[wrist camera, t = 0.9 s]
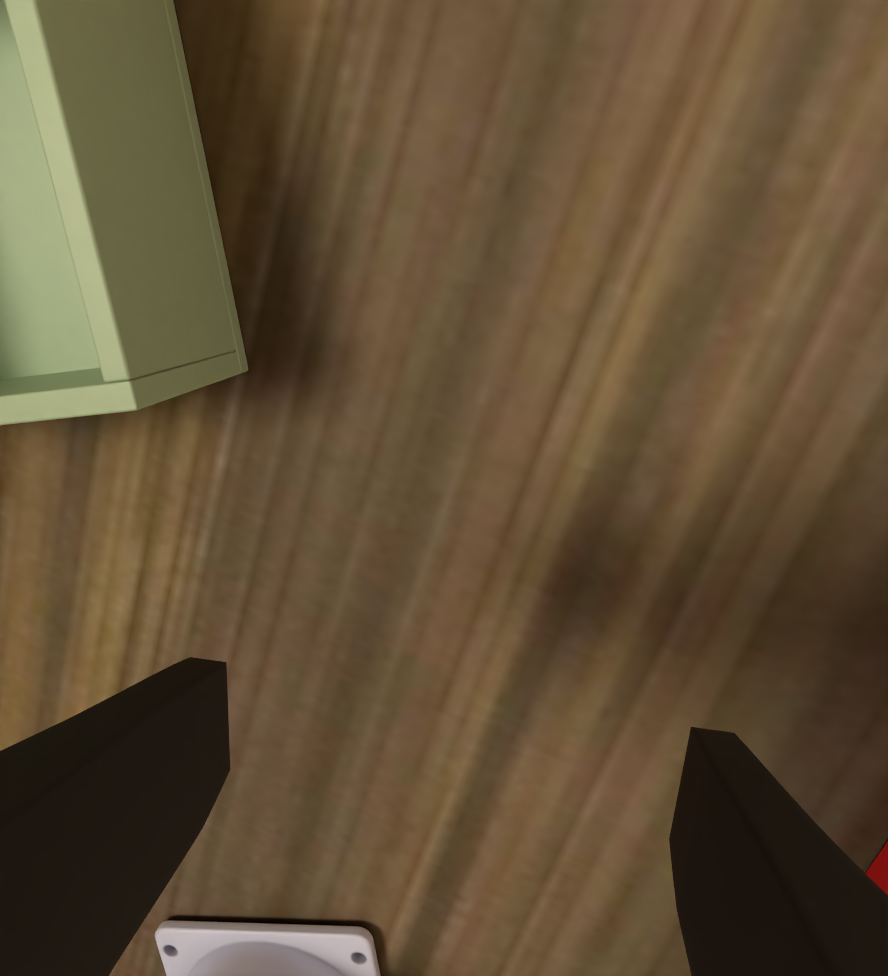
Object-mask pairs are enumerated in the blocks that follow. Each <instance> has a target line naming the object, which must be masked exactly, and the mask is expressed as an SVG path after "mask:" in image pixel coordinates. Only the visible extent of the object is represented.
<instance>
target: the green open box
mask: <svg viewBox="0 0 888 976" xmlns="http://www.w3.org/2000/svg"><path fill="white" fill-rule="evenodd" d="M247 371H248V365H247V360H246V355H245V350H244V345H243V340H242V335H241V330H240V325H239V320H238V315H237V311H236V306H235V301H234V296H233V291H232V286H231V281H230V276H229V271H228V266H227V261H226V257H225V252H224V247H223V242H222V237H221V232H220V227H219V222H218V217H217V212H216V207H215V203H214V198H213V193H212V188H211V183H210V178H209V173H208V168H207V163H206V158H205V153H204V149H203V144H202V139H201V134H200V129H199V124H198V119H197V114H196V109H195V104H194V99H193V95H192V90H191V85H190V80H189V75H188V70H187V65H186V60H185V55H184V50H183V45H182V41H181V36H180V31H179V26H178V21H177V16H176V11H175V6H174V1H173V0H0V425H8V424H17V423H27V422H36V421H45V420H54V419H64V418H73V417H82V416H91V415H100V414H110V413H119V412H128V411H137V410H140V409H143V408H145V407H148V406H151V405H154V404H157V403H160V402H162V401H165V400H168V399H171V398H174V397H176V396H179V395H182V394H185V393H188V392H191V391H193V390H196V389H199V388H202V387H205V386H207V385H210V384H213V383H216V382H219V381H222V380H224V379H227V378H230V377H233V376H236V375H238V374H241V373H244V372H247Z"/></svg>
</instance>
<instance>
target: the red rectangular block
mask: <svg viewBox="0 0 888 976" xmlns="http://www.w3.org/2000/svg"><path fill="white" fill-rule="evenodd" d="M865 874H866V875H867V876H868V877H869V878H870V879H871V880H872V881H874V882H875V883H876V884H877V885H878V886H879V887H880V888H881V889H882V890H883V891H884V892H885V893H886V894H887V895H888V841H887V842H886V844H885V845H884V847H883V848H882V850H881V851H880V852H879V854H878V855H877V857H876V858H875V860H874V861H873V863H872V864H871V866H870V867H869V869H868V870H867V872H866V873H865Z"/></svg>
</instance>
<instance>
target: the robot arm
mask: <svg viewBox="0 0 888 976" xmlns="http://www.w3.org/2000/svg"><path fill="white" fill-rule="evenodd" d="M229 771H230V752H229V724H228V697H227V670H226V662H221V661H213V660H206V659H199V658H192V657H190V658H188V659H185V660H183V661H181V662H178V663H176V664H174V665H172V666H170V667H168V668H166V669H164V670H162V671H160V672H158V673H156V674H154V675H152V676H150V677H148V678H146V679H144V680H142V681H141V682H139V683H137V684H135V685H133V686H131V687H129V688H127V689H125V690H123V691H121V692H120V693H118V694H116V695H114V696H112V697H110V698H108V699H106V700H104V701H102V702H100V703H98V704H96V705H94V706H93V707H91V708H89V709H87V710H85V711H83V712H81V713H79V714H77V715H75V716H73V717H71V718H69V719H67V720H65V721H63V722H61V723H59V724H57V725H54V726H52V727H50V728H48V729H46V730H44V731H42V732H40V733H38V734H35V735H33V736H31V737H29V738H27V739H25V740H23V741H21V742H19V743H16V744H14V745H12V746H10V747H8V748H6V749H4V750H2V751H0V976H109V974H110V973H111V971H112V969H113V968H114V966H115V964H116V963H117V961H118V960H119V958H120V957H121V955H122V953H123V952H124V950H125V949H126V947H127V946H128V944H129V943H130V941H131V939H132V938H133V936H134V935H135V933H136V932H137V930H138V929H139V927H140V926H141V924H142V922H143V921H144V919H145V918H146V916H147V915H148V913H149V912H150V910H151V908H152V907H153V905H154V904H155V902H156V901H157V899H158V898H159V896H160V894H161V893H162V891H163V890H164V888H165V887H166V885H167V884H168V882H169V881H170V879H171V877H172V876H173V874H174V873H175V871H176V870H177V868H178V866H179V865H180V863H181V862H182V860H183V858H184V857H185V855H186V854H187V852H188V851H189V849H190V847H191V846H192V844H193V843H194V841H195V839H196V838H197V836H198V835H199V833H200V831H201V830H202V828H203V826H204V824H205V822H206V820H207V818H208V816H209V814H210V812H211V810H212V808H213V806H214V804H215V802H216V799H217V797H218V795H219V793H220V791H221V788H222V786H223V784H224V782H225V780H226V777H227V775H228V773H229ZM669 841H670V851H671V861H672V871H673V881H674V889H675V898H676V906H677V912H678V917H679V921H680V926H681V930H682V935H683V939H684V944H685V948H686V953H687V957H688V961H689V966H690V970H691V975H692V976H888V895H887V894H886V893H885V892H884V891H883V890H882V889H881V888H880V887H879V886H878V885H877V884H876V883H875V882H874V881H872V880H871V879H870V878H869V877H868V876H867V875H866V874H865V873H864V872H863V871H862V870H861V869H860V868H859V867H858V866H857V865H856V864H855V863H854V862H853V861H852V860H851V859H850V858H849V857H848V856H847V855H846V854H845V853H844V852H843V851H842V850H841V849H840V848H839V847H838V846H837V845H836V844H835V843H834V842H833V841H832V840H831V839H830V838H829V837H828V836H827V834H826V833H825V832H824V831H823V830H822V829H821V828H820V827H819V826H818V825H817V824H816V823H815V822H814V821H813V820H812V819H811V817H810V816H809V815H808V814H807V813H806V812H805V811H804V810H803V809H802V808H801V807H800V806H799V804H798V803H797V802H796V801H795V800H794V799H793V798H792V797H791V796H790V795H789V793H788V792H787V791H786V790H785V789H784V788H783V787H782V786H781V784H780V783H779V782H778V781H777V780H776V779H775V778H774V777H773V776H772V774H771V773H770V772H769V771H768V770H767V769H766V768H765V766H764V765H763V764H762V763H761V762H760V761H759V760H758V759H757V757H756V756H755V755H754V754H753V753H752V752H751V751H750V750H749V748H748V747H747V746H746V745H745V744H744V743H743V742H742V741H741V740H740V739H739V737H738V736H737V735H736V734H735V733H731V732H724V731H716V730H709V729H702V728H695V727H691V730H690V735H689V741H688V746H687V751H686V756H685V761H684V766H683V771H682V776H681V782H680V787H679V792H678V797H677V802H676V807H675V812H674V818H673V823H672V828H671V833H670V838H669ZM155 939H156V943H157V946H158V949H159V952H160V956H161V959H162V962H163V965H164V969H165V972H166V975H167V976H381V975H380V970H379V965H378V960H377V955H376V950H375V945H374V940H373V937H372V935H371V933H370V932H369V931H368V930H367V929H365V928H363V927H358V926H331V925H299V924H268V923H237V922H205V921H174V920H169V921H164V922H162V923H161V924H160V926H159V927H158V929H157V931H156V933H155ZM361 953H362V954H361Z"/></svg>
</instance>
